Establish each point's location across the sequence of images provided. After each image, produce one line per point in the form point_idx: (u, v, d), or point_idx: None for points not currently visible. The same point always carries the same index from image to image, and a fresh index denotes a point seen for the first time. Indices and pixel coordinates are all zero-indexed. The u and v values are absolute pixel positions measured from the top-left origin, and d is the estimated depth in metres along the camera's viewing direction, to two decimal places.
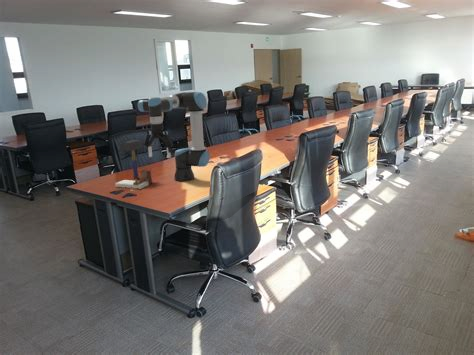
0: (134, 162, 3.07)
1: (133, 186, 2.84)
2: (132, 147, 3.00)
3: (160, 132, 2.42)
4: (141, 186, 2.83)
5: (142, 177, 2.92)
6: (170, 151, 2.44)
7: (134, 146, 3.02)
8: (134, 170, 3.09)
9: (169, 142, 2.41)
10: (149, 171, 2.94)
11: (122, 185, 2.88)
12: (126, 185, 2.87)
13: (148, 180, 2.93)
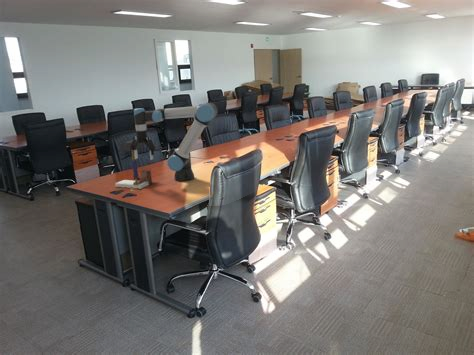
0: (134, 162, 3.07)
1: (133, 186, 2.84)
2: None
3: (144, 138, 2.85)
4: (141, 186, 2.83)
5: (142, 177, 2.92)
6: (152, 154, 2.86)
7: None
8: (134, 170, 3.09)
9: (152, 146, 2.84)
10: (149, 171, 2.94)
11: (122, 185, 2.88)
12: (126, 185, 2.87)
13: (148, 180, 2.93)
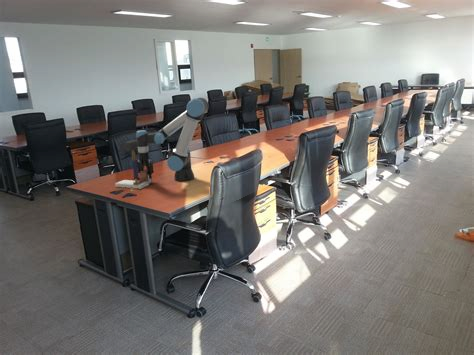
0: (134, 162, 3.07)
1: (133, 186, 2.84)
2: (132, 147, 3.00)
3: (146, 159, 2.89)
4: (141, 186, 2.83)
5: (142, 177, 2.92)
6: (150, 177, 2.92)
7: (134, 146, 3.02)
8: (134, 170, 3.09)
9: (150, 170, 2.90)
10: None
11: (122, 185, 2.88)
12: (126, 185, 2.87)
13: None
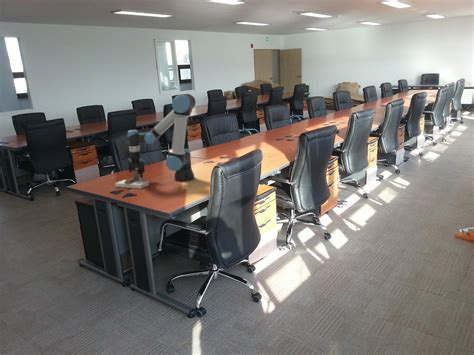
0: None
1: (133, 186, 2.84)
2: None
3: (137, 158, 2.92)
4: (141, 186, 2.83)
5: (133, 176, 2.95)
6: (141, 176, 2.95)
7: None
8: None
9: (141, 169, 2.93)
10: None
11: (122, 185, 2.88)
12: (126, 185, 2.87)
13: None
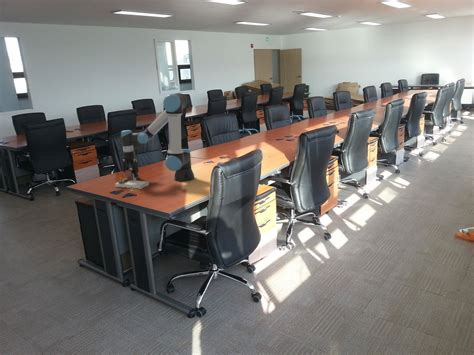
0: None
1: (133, 186, 2.84)
2: None
3: (131, 158, 2.94)
4: (141, 186, 2.83)
5: (127, 176, 2.97)
6: (135, 176, 2.98)
7: (134, 146, 3.02)
8: None
9: (135, 169, 2.95)
10: None
11: (122, 185, 2.88)
12: (126, 185, 2.87)
13: None
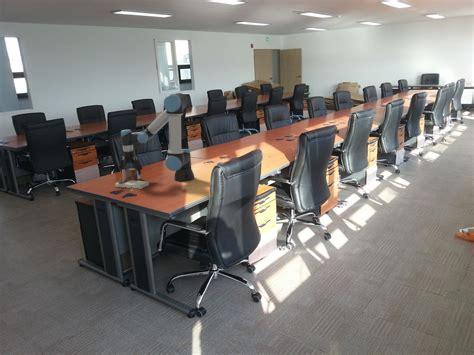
0: None
1: (133, 186, 2.84)
2: None
3: (131, 158, 2.94)
4: (141, 186, 2.83)
5: (127, 176, 2.97)
6: (140, 173, 2.95)
7: (134, 146, 3.02)
8: None
9: (138, 166, 2.93)
10: (134, 170, 2.99)
11: (122, 185, 2.88)
12: (126, 185, 2.87)
13: (133, 179, 2.98)
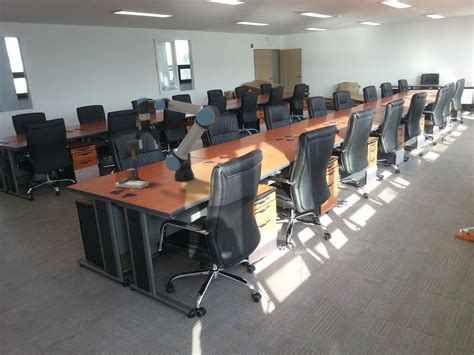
0: (134, 162, 3.07)
1: (133, 186, 2.84)
2: (132, 147, 3.00)
3: (148, 127, 2.84)
4: (141, 186, 2.83)
5: (127, 176, 2.97)
6: (157, 143, 2.86)
7: (134, 146, 3.02)
8: None
9: (156, 135, 2.84)
10: (134, 170, 2.99)
11: (122, 185, 2.88)
12: (126, 185, 2.87)
13: (133, 179, 2.98)
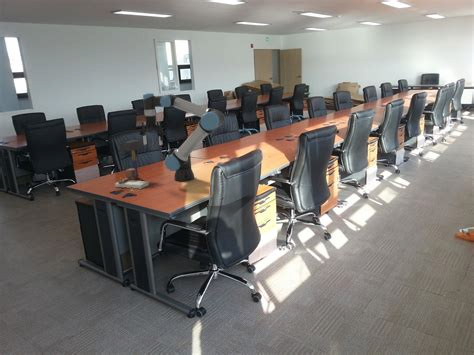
0: (134, 162, 3.07)
1: (133, 186, 2.84)
2: (132, 147, 3.00)
3: (153, 123, 2.83)
4: (141, 186, 2.83)
5: (127, 176, 2.97)
6: (162, 139, 2.84)
7: (134, 146, 3.02)
8: None
9: (161, 131, 2.82)
10: (134, 170, 2.99)
11: (122, 185, 2.88)
12: (126, 185, 2.87)
13: (133, 179, 2.98)
